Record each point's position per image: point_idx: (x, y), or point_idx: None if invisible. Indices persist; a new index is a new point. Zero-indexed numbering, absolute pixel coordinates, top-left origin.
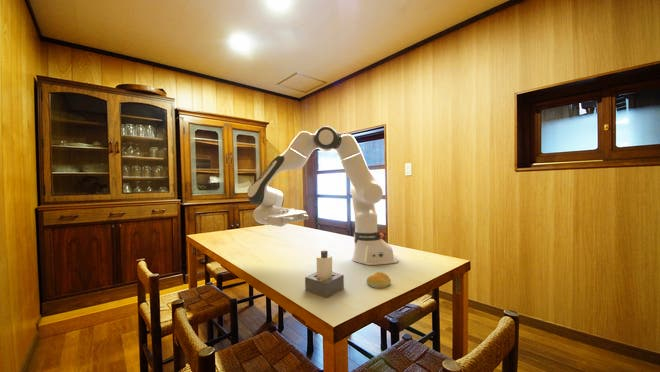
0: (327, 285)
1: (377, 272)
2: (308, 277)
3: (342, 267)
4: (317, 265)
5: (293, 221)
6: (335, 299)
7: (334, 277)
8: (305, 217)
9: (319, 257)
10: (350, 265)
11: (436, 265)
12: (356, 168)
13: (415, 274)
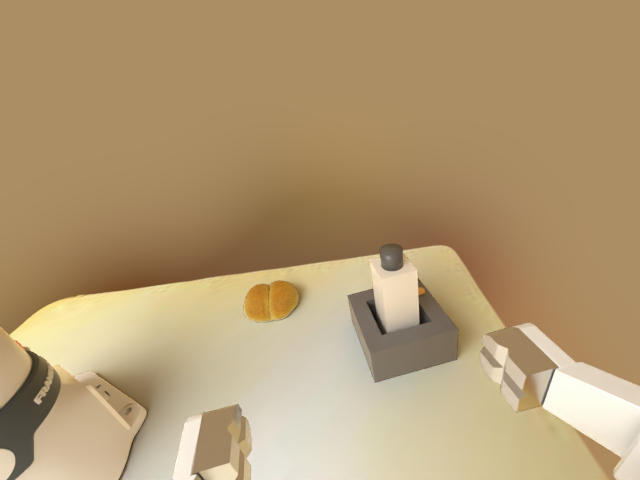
0: None
1: (256, 297)
2: (448, 322)
3: None
4: (416, 289)
5: (480, 358)
6: None
7: None
8: (238, 439)
9: (409, 265)
10: (171, 466)
11: (95, 314)
12: None
13: (178, 303)
